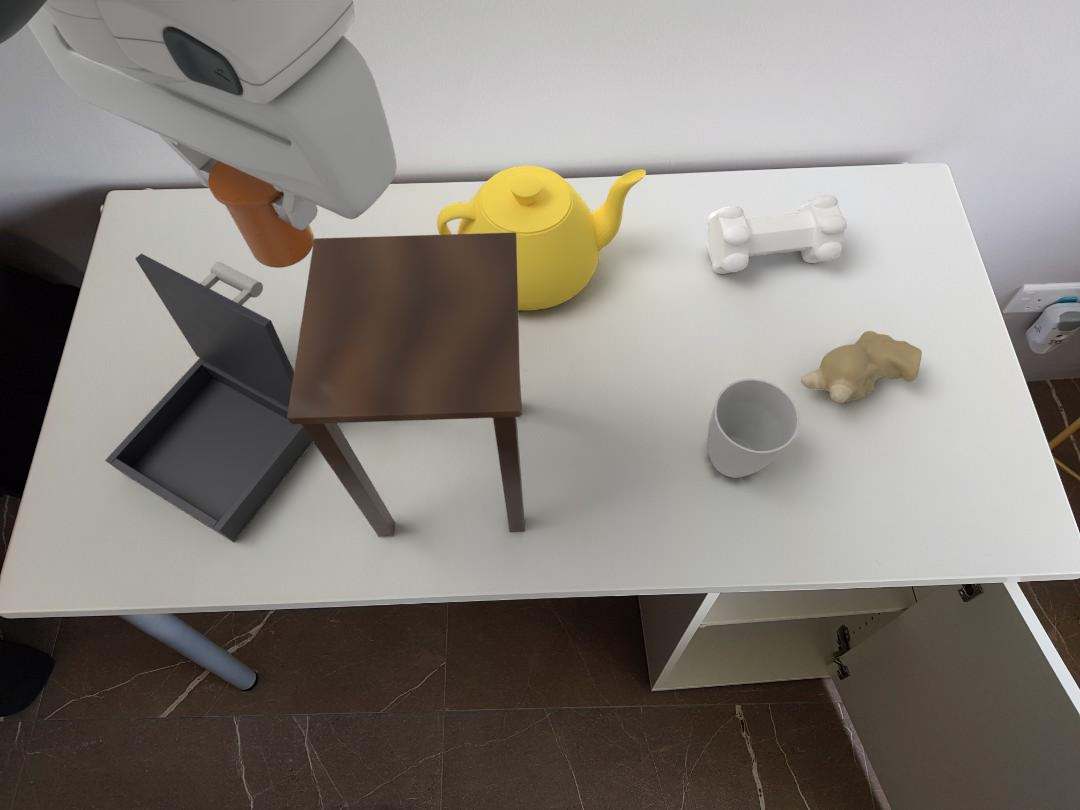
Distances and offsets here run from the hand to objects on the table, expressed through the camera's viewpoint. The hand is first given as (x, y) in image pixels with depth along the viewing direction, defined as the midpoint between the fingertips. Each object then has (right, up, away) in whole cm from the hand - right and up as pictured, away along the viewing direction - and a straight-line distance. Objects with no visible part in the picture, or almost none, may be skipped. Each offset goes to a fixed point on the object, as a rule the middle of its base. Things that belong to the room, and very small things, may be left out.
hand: (262, 201), depth 42 cm
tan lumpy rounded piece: (+52, -10, +39) cm, 66 cm away
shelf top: (+7, -6, +11) cm, 14 cm away
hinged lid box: (-18, -17, +35) cm, 44 cm away
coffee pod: (0, -2, +4) cm, 4 cm away
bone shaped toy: (+45, +7, +48) cm, 66 cm away
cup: (+38, -18, +35) cm, 54 cm away
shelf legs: (+7, -19, +35) cm, 40 cm away
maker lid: (-15, -6, +28) cm, 32 cm away
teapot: (+16, +6, +48) cm, 51 cm away
